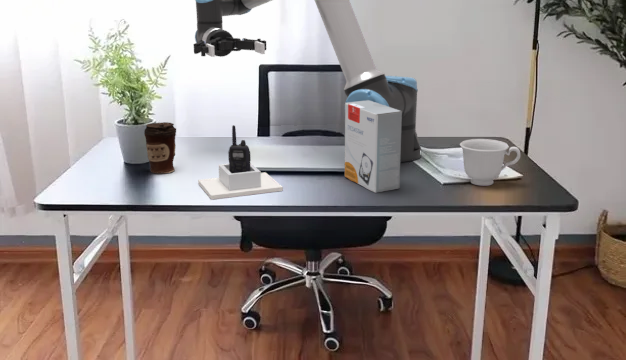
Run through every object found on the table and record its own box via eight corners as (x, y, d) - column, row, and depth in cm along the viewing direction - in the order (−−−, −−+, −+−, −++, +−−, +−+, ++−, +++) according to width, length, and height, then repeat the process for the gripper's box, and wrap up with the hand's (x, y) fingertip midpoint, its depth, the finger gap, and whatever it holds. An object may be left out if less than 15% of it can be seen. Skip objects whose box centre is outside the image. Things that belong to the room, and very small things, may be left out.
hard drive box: (343, 177, 192) (343, 102, 187) (368, 173, 196) (369, 99, 190) (374, 193, 179) (376, 113, 173) (401, 189, 183) (403, 109, 177)
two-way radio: (228, 185, 183) (225, 126, 179) (232, 180, 187) (230, 122, 183) (249, 186, 182) (248, 126, 178) (253, 180, 186) (251, 122, 182)
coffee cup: (171, 176, 194) (167, 128, 190) (141, 175, 196) (137, 127, 192) (183, 167, 202) (180, 121, 199) (154, 166, 204) (151, 120, 200)
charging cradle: (265, 175, 194) (265, 157, 193) (282, 190, 182) (282, 171, 180) (198, 183, 188) (197, 164, 186) (211, 199, 175) (210, 179, 174)
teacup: (517, 192, 179) (520, 152, 176) (455, 187, 183) (457, 148, 181) (518, 178, 190) (521, 141, 187) (460, 174, 194) (462, 137, 192)
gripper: (260, 53, 217) (283, 61, 198) (176, 57, 208) (192, 67, 190) (259, 27, 215) (283, 33, 196) (174, 30, 206) (190, 37, 187)
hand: (238, 50), depth 193 cm, fingers open, 13 cm apart
